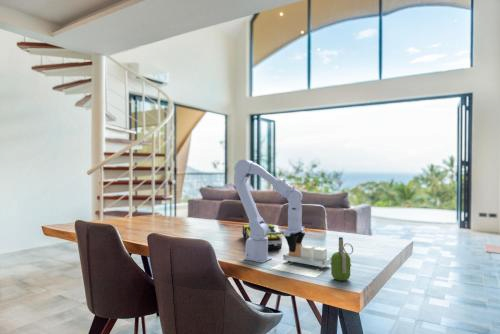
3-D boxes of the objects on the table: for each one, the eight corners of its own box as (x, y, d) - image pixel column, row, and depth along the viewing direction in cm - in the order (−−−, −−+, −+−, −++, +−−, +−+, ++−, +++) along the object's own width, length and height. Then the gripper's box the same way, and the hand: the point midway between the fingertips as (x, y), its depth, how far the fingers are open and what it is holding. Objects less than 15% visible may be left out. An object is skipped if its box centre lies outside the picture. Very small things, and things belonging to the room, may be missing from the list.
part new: (288, 256, 135) (289, 244, 135) (293, 254, 139) (293, 242, 139) (297, 257, 133) (297, 245, 133) (301, 255, 136) (301, 243, 136)
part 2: (313, 261, 129) (313, 249, 129) (317, 259, 132) (317, 247, 132) (322, 263, 127) (322, 250, 127) (326, 261, 130) (326, 248, 130)
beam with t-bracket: (283, 262, 135) (283, 254, 135) (298, 255, 146) (298, 248, 146) (324, 270, 125) (324, 262, 125) (336, 262, 136) (336, 254, 136)
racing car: (269, 234, 193) (270, 214, 192) (285, 254, 154) (285, 229, 154) (241, 234, 191) (241, 214, 190) (249, 255, 152) (250, 230, 152)
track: (269, 268, 127) (269, 268, 127) (291, 258, 142) (291, 258, 142) (314, 278, 116) (314, 277, 116) (333, 266, 131) (333, 266, 131)
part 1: (300, 259, 132) (300, 247, 132) (305, 257, 135) (305, 245, 135) (309, 260, 130) (309, 248, 130) (314, 258, 133) (314, 246, 133)
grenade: (347, 276, 118) (347, 235, 119) (355, 284, 110) (355, 240, 110) (327, 276, 118) (327, 235, 118) (334, 284, 110) (334, 240, 110)
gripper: (295, 221, 128) (295, 255, 128) (311, 217, 140) (310, 248, 140) (279, 219, 132) (279, 252, 132) (296, 215, 144) (296, 246, 144)
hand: (294, 250), depth 136 cm, fingers closed on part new, 4 cm apart
